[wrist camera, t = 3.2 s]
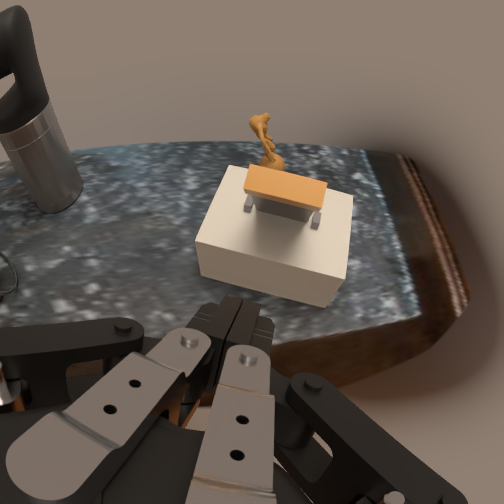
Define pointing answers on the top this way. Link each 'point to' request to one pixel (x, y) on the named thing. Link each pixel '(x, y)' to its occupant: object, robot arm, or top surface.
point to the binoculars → (13, 273)
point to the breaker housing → (275, 245)
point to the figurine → (266, 143)
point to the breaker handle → (284, 193)
